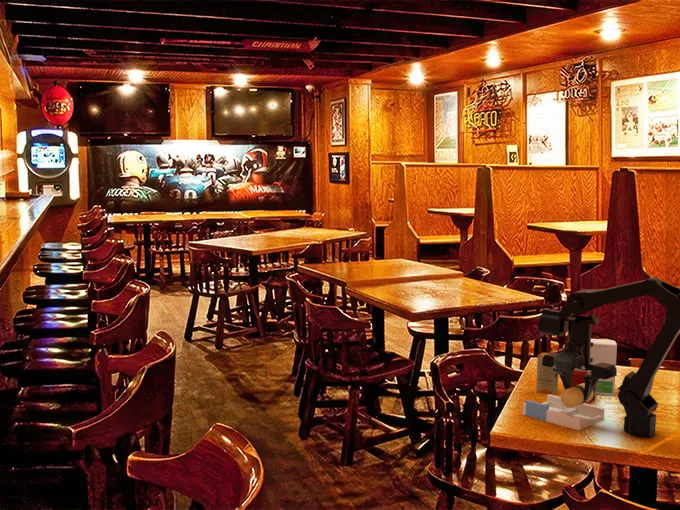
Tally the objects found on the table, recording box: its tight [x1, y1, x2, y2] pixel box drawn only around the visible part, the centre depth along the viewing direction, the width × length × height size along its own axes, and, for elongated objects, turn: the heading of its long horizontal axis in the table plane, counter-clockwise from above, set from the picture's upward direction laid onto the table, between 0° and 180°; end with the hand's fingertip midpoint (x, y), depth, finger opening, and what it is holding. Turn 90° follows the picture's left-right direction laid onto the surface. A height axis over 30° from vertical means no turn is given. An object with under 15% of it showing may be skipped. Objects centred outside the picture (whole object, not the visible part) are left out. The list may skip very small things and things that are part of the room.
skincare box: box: [590, 338, 618, 397], centre depth 229 cm, size 8×7×16 cm
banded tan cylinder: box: [560, 383, 594, 408], centre depth 200 cm, size 8×5×5 cm, turn 132°
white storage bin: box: [522, 394, 605, 431], centre depth 204 cm, size 17×12×5 cm
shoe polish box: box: [536, 351, 559, 395], centre depth 227 cm, size 5×5×12 cm
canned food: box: [571, 366, 596, 405], centre depth 219 cm, size 8×8×11 cm
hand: (577, 397), depth 200 cm, fingers closed on banded tan cylinder, 5 cm apart
